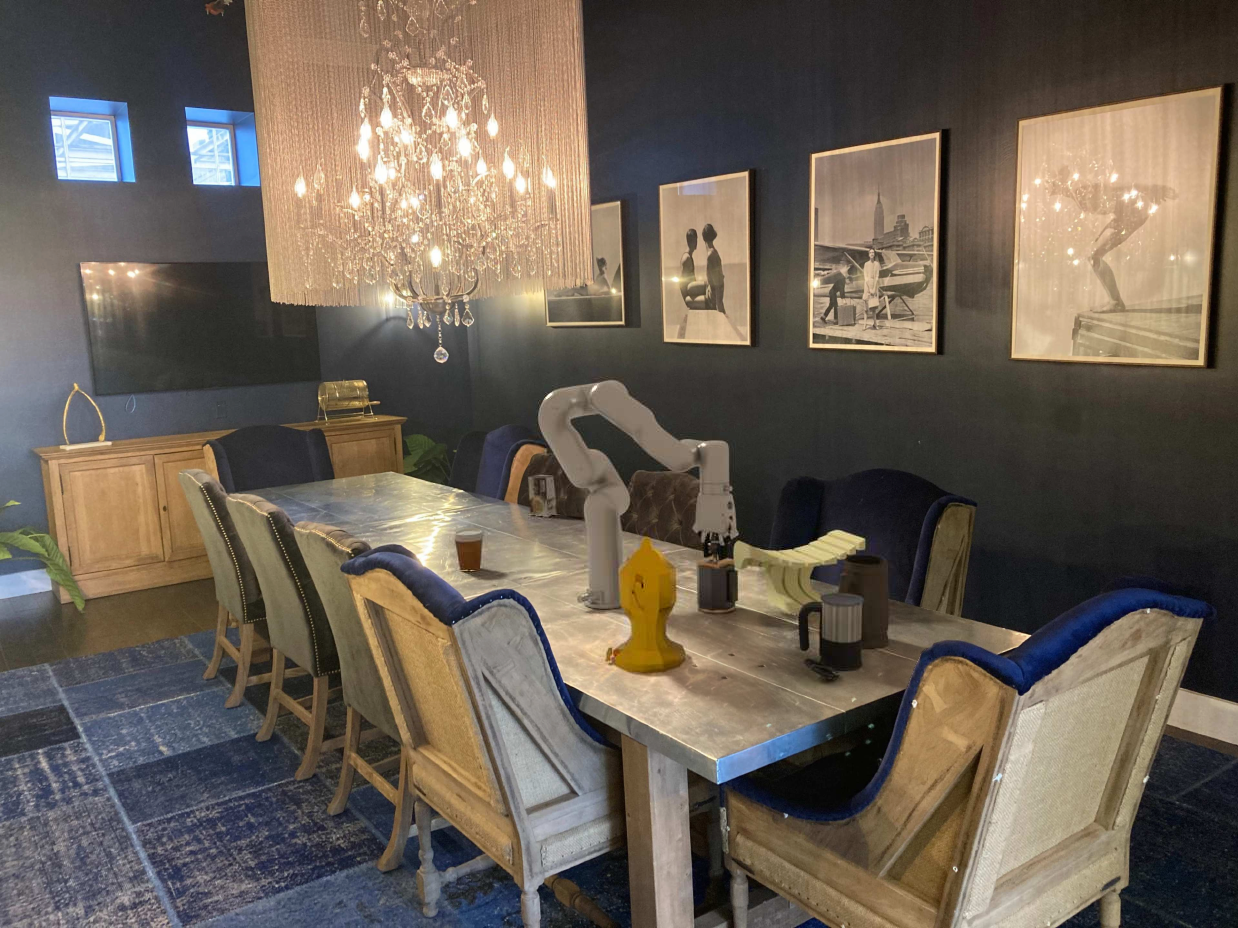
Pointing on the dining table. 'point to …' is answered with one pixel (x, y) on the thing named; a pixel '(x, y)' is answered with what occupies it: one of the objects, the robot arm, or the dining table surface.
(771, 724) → the dining table surface
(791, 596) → the slatted curved stool
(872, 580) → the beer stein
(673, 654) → the yellow tall piece
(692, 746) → the dining table surface
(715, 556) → the plunger
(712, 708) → the dining table surface
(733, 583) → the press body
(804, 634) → the milk frother
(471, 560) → the glass of beer
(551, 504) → the coffee box
